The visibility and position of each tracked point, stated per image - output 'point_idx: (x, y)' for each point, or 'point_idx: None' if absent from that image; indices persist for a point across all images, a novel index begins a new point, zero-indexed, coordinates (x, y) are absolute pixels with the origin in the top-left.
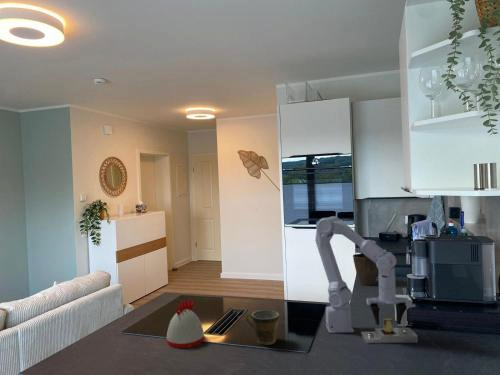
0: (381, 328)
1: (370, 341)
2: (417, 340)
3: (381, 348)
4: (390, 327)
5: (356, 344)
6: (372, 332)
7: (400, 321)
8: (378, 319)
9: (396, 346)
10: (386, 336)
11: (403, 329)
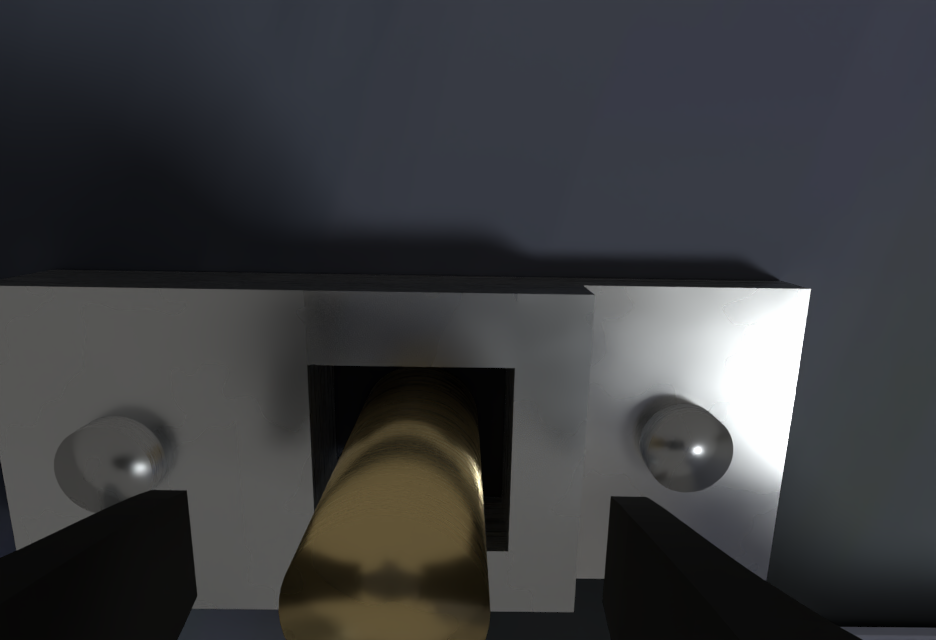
0: None
1: (737, 283)
2: (35, 275)
3: (637, 94)
4: (380, 445)
5: (933, 255)
6: None
7: (99, 513)
8: (679, 549)
9: (397, 152)
10: (503, 291)
11: None
